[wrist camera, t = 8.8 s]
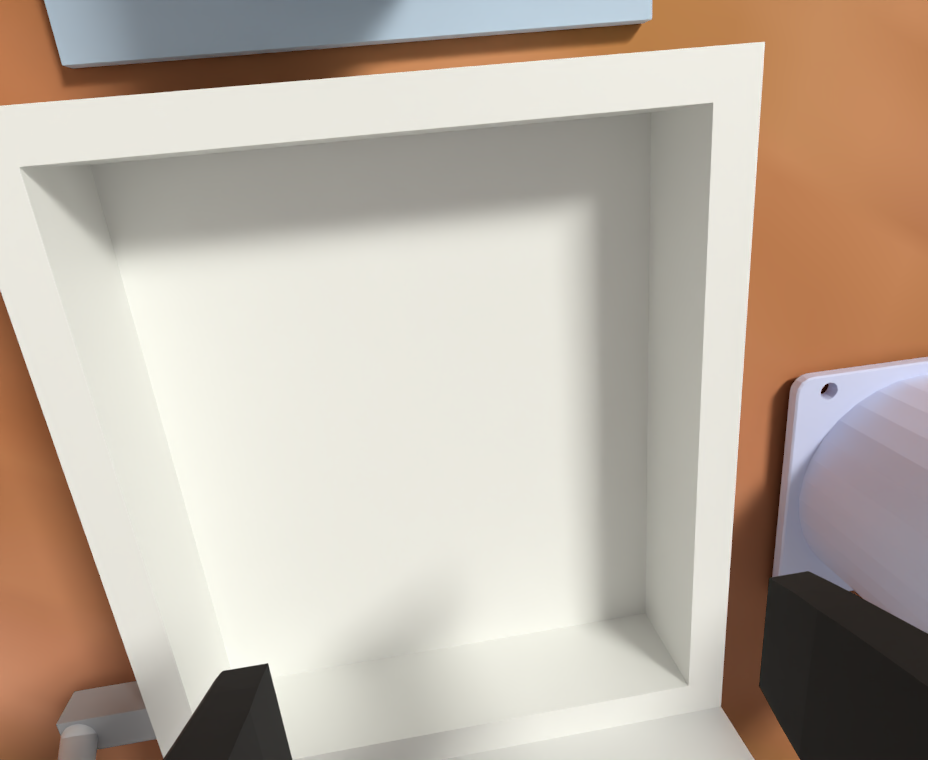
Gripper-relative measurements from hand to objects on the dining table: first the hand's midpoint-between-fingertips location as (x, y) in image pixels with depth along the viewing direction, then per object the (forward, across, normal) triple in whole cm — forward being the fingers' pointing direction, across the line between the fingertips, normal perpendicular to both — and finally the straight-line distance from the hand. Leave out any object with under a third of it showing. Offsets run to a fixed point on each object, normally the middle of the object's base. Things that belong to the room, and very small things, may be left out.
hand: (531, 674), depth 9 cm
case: (+9, +2, +1) cm, 10 cm away
